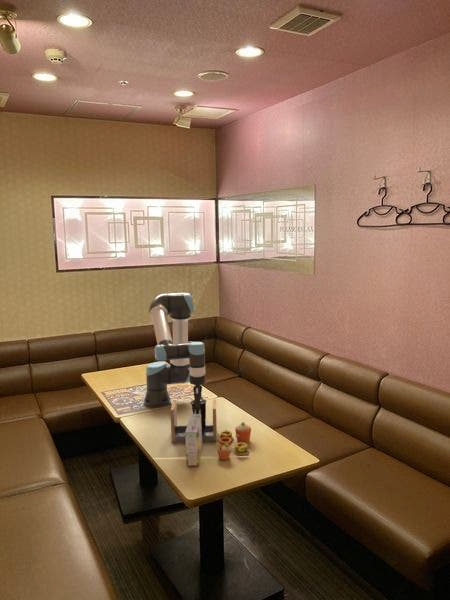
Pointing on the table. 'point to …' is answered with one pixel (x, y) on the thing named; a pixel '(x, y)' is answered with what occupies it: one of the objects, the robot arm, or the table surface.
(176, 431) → the two-post stand
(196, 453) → the snack box
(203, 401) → the drinking cup
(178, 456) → the table surface
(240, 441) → the toy tea set
